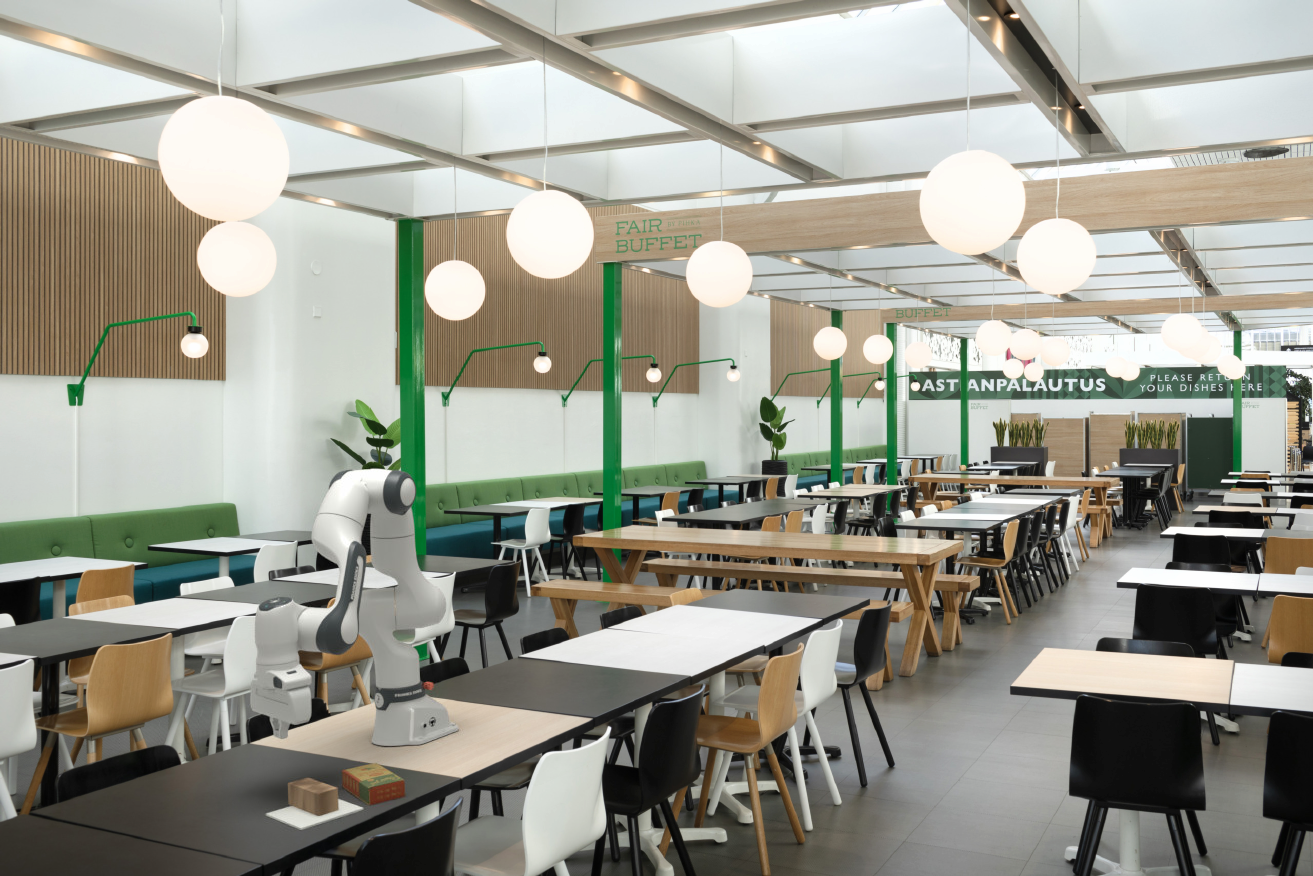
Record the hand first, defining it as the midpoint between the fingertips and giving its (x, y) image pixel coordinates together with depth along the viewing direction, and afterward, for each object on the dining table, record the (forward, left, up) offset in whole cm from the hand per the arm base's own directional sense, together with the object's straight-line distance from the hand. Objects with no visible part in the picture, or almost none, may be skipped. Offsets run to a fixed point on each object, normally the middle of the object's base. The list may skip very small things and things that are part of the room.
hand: (280, 737), depth 225 cm
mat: (+1, +15, -13) cm, 20 cm away
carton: (-14, +14, -13) cm, 24 cm away
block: (0, +7, -10) cm, 12 cm away
